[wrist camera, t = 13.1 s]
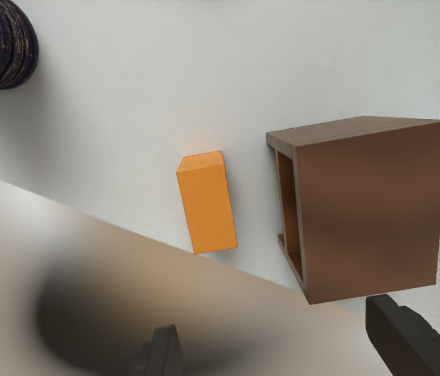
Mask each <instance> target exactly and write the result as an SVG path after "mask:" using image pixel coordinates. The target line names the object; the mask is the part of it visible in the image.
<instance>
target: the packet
mask: <svg viewBox="0 0 440 376" xmlns="http://www.w3.org/2000/svg"><path fill="white" fill-rule="evenodd" d="M176 174H177V178H178V183H179V187H180V192H181V196H182V201H183V205H184V210H185V215H186V219H187V224H188V228H189V233H190V237H191V242H192V246H193V251H194V254H200V253H206V252H212V251H218V250H224V249H230V248H236V247H238V245H237V239H236V233H235V227H234V221H233V215H232V209H231V203H230V197H229V191H228V185H227V179H226V173H225V166H224V162H223V158H222V153H221V151H216V152H210V153H204V154H198V155H192V156H187V157H184V158H183V160H182V162H181V164H180V166H179V167H178V169H177V171H176Z"/></svg>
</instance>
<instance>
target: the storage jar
mask: <svg viewBox="0 0 440 376" xmlns="http://www.w3.org/2000/svg"><path fill="white" fill-rule="evenodd" d="M38 51H39V50H38V42H37V38H36V34H35V31H34V29H33V27H32V25H31V23H30V21H29V19H28V18H27V16H26V15H25V14H24V12H23V11H22V10H21V9H20V8H19V7H18V6H17V5H16V4H15V3H13V2H12V1H11V0H0V90H7V89H12V88H16V87H18V86H20V85H22V84H23V83H25V82H26V81H27V80H28V79H29V78H30V77H31V75H32V74H33V72H34V70H35V68H36V65H37V61H38Z"/></svg>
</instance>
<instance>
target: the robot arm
mask: <svg viewBox="0 0 440 376" xmlns="http://www.w3.org/2000/svg"><path fill="white" fill-rule="evenodd" d="M366 331H367V334H368V337H369V339H370V341H371V343H372V344H373V346H374V347H375V349H376V350H377V352H378V353H379V355H380V356H381V358H382V359H383V361H384V363H385V364H386V365H387V367H388V369H389V370H390V372H391V373H392V375H393V376H440V335H439V333H438V332H437V331H436V330H435V329H432V326H431V325H430V324H429V323H428V322H427V321H426V320H425V319H424V318H423V317H422V316H421V315H420V314H418V313H416V312H415V311H413V310H411V309H410V308H408V307H406V306H400V307H399V306H398V305H397V303H396V302H395V301H394V300H393V299H392V298H391V297H390V296H389V295H387V294H382V295H376V296H369V297H367V298H366ZM182 371H183V355H182V350H181V346H180V342H179V338H178V334H177V331H176V327H175V325H166V326H160V327H156V328H155V331H154V335H153V339H152V342H146V343H144V344H143V345H142V346H141V348H140V349H139V351H138V352H137V353H136V355H135V358H134V361H133V364H132V367H131V372H130V373H129V376H182Z"/></svg>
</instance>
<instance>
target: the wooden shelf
mask: <svg viewBox="0 0 440 376" xmlns="http://www.w3.org/2000/svg"><path fill="white" fill-rule="evenodd" d="M266 138H267V144H268V145H270V146H271V147H273V148H275V156H276V166H277V175H278V185H279V194H280V203H281V213H282V222H283V232H284V234H278V243H279V245H280V247H281V249H282V251H283V253H284V255H285V257H286V259H287V261H288V263H289V265H290V267H291V269H292V271H293V273H294V275H295V277H296V279H297V281H298V283H299V285H300V287H301V289H302V291H303V293H304V295H305V297H306V299H307V301H308V303H309V304H310V305H311V304H318V303H324V302H331V301H337V300H343V299H349V298H355V297H362V296H368V295H374V294H380V293H386V292H393V291H399V290H405V289H411V288H417V287H423V286H430V285H435V284H436V275H437V263H438V251H439V239H440V120H433V119H414V118H394V117H375V116H361V117H355V118H349V119H343V120H337V121H331V122H326V123H320V124H314V125H308V126H302V127H296V128H291V129H285V130H279V131H273V132H267V133H266Z"/></svg>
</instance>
